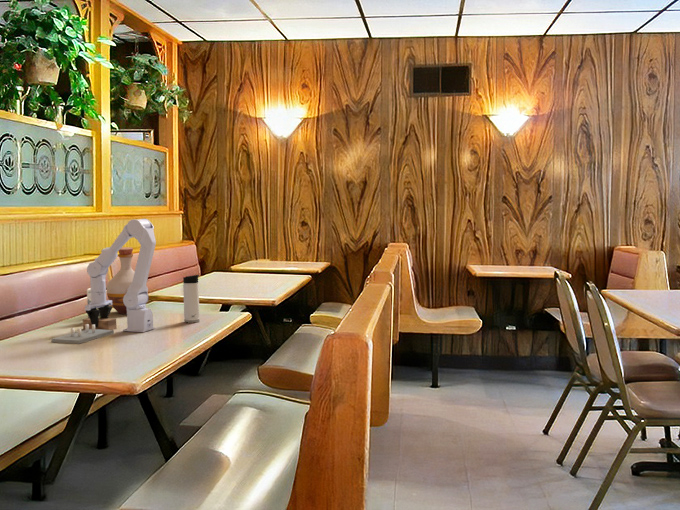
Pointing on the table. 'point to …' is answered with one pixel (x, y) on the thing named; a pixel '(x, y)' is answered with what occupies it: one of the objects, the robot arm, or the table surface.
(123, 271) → the jug
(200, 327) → the table surface
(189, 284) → the travel mug
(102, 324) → the copper brown rectangular block
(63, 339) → the peg plate
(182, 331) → the table surface
